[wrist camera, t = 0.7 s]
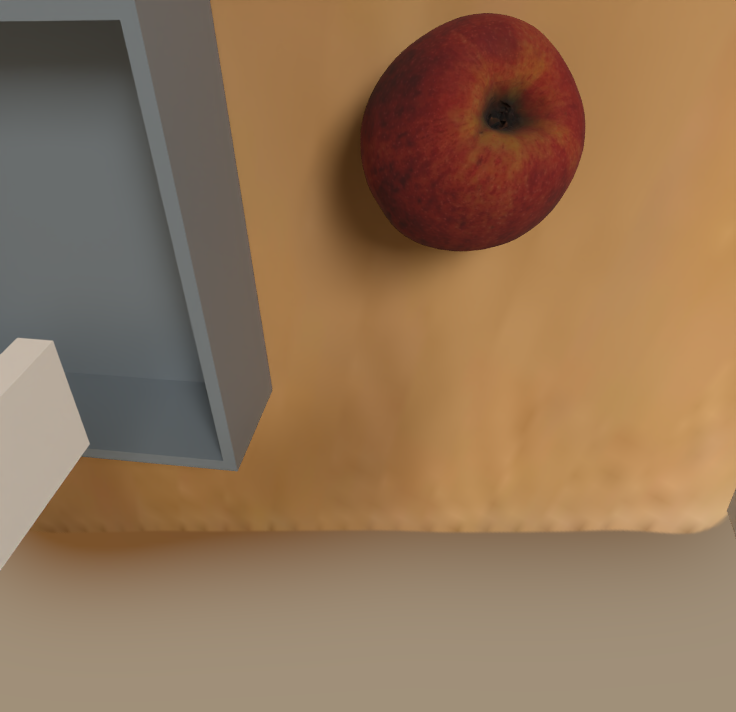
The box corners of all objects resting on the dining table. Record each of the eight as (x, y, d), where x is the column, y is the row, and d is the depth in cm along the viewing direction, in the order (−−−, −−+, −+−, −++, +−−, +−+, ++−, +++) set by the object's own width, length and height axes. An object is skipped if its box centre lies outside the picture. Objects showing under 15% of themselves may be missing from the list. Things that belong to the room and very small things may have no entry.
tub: (-260, -23, 28) (-414, 7, 24) (204, -34, 25) (133, -3, 21) (-60, 365, 40) (-135, 436, 36) (272, 390, 37) (237, 471, 32)
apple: (618, 117, 26) (652, 207, 20) (455, 233, 30) (441, 339, 24) (498, -53, 23) (493, -10, 17) (337, 99, 27) (286, 179, 21)
